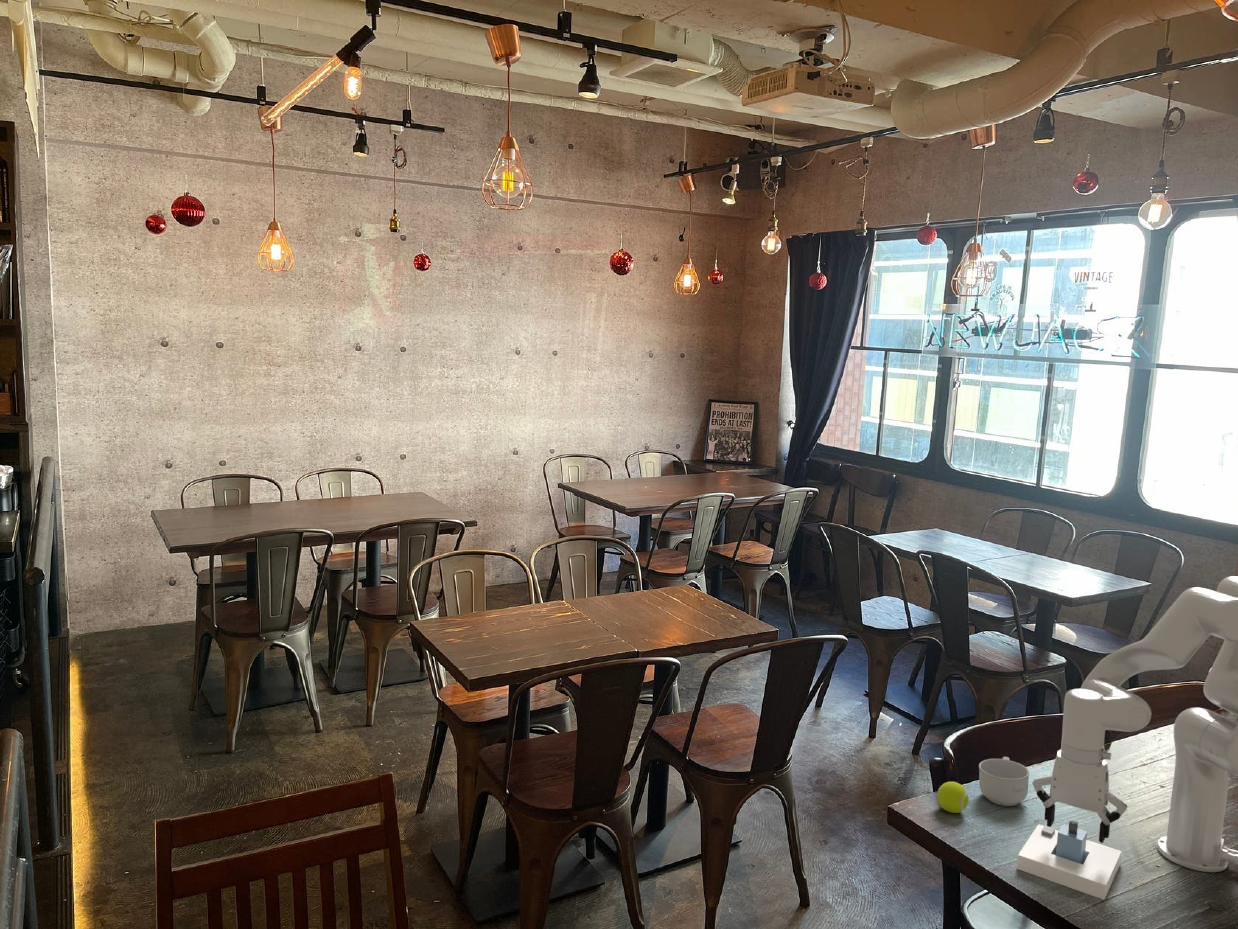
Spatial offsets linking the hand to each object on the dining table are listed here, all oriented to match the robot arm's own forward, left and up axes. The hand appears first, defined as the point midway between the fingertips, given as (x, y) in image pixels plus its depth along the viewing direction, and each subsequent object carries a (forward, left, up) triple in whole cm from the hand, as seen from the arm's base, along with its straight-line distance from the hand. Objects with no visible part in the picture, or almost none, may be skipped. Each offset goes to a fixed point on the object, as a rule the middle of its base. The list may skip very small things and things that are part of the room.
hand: (1075, 831), depth 186 cm
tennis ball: (+27, -6, -8) cm, 28 cm away
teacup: (+20, -21, -8) cm, 30 cm away
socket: (+1, +1, -8) cm, 8 cm away
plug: (+1, +1, -7) cm, 7 cm away
